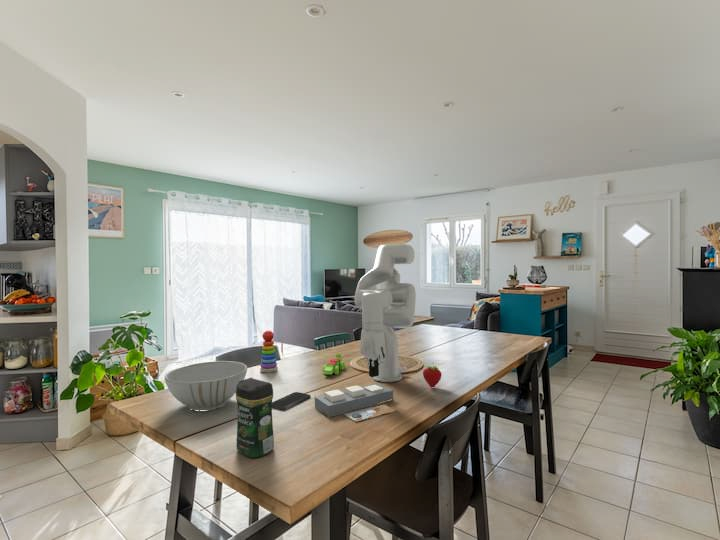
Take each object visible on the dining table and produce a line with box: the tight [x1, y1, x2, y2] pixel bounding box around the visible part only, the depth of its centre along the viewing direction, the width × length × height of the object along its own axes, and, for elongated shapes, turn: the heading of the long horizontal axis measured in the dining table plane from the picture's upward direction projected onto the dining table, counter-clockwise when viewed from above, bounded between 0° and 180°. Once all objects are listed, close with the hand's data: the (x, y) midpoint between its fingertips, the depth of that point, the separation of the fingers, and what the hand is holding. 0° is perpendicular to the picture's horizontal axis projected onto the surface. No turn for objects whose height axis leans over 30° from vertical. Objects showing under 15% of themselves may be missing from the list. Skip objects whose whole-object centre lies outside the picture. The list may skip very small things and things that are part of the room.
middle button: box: [344, 385, 365, 397], centre depth 129 cm, size 5×5×4 cm
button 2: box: [364, 385, 383, 393], centre depth 133 cm, size 5×5×4 cm
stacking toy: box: [259, 330, 279, 374], centre depth 172 cm, size 8×8×19 cm
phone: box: [272, 391, 311, 411], centre depth 132 cm, size 8×1×15 cm
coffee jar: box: [235, 377, 275, 459], centre depth 97 cm, size 10×8×19 cm
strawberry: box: [422, 362, 443, 388], centre depth 145 cm, size 6×8×10 cm
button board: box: [314, 382, 394, 418], centre depth 129 cm, size 26×10×4 cm, turn 123°
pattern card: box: [344, 406, 376, 421], centre depth 120 cm, size 16×7×1 cm, turn 123°
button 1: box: [324, 388, 345, 402], centre depth 124 cm, size 5×5×4 cm
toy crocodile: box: [322, 353, 346, 375], centre depth 169 cm, size 20×7×6 cm, turn 163°
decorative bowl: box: [164, 360, 248, 412], centre depth 130 cm, size 27×27×12 cm
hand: (374, 375), depth 134 cm, fingers closed
